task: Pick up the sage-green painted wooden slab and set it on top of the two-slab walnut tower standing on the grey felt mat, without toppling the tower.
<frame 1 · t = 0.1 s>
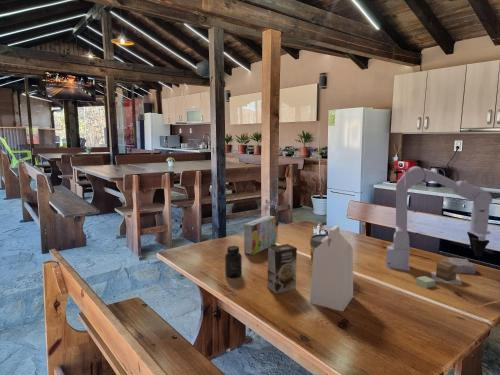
hand: (476, 253, 140), 10 cm above the table, fingers open, 7 cm apart
tower top: (446, 270, 139), point 3 cm above the table, touching tower base
snack box: (260, 249, 177), on the table
reusable coffee cup: (324, 273, 146), on the table
milk: (331, 300, 123), on the table
felt mat: (445, 279, 140), on the table
tower base: (445, 277, 139), resting on felt mat, touching tower top
coffee box: (281, 288, 132), on the table
supplement bottle: (233, 275, 144), on the table
sage slab: (425, 286, 133), on the table
stone block: (457, 270, 150), on the table
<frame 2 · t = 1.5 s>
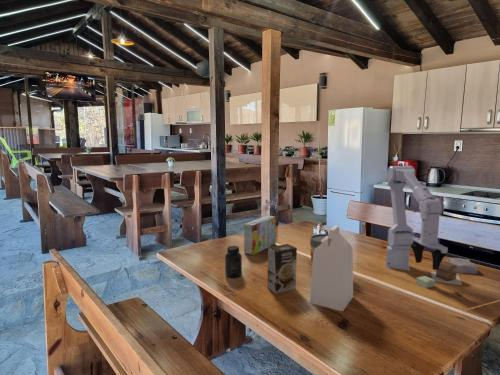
hand: (426, 265, 132), 8 cm above the table, fingers open, 7 cm apart
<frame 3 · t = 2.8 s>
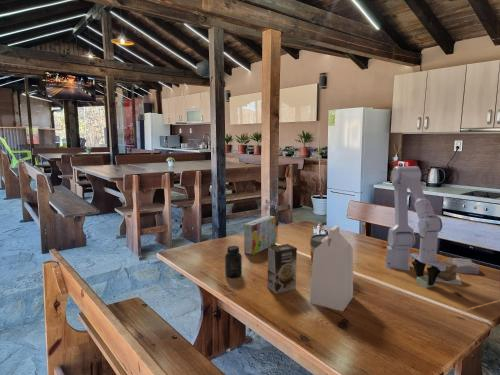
hand: (425, 282, 133), 1 cm above the table, fingers closed on sage slab, 4 cm apart
sage slab: (425, 285, 133), on the table, touching gripper
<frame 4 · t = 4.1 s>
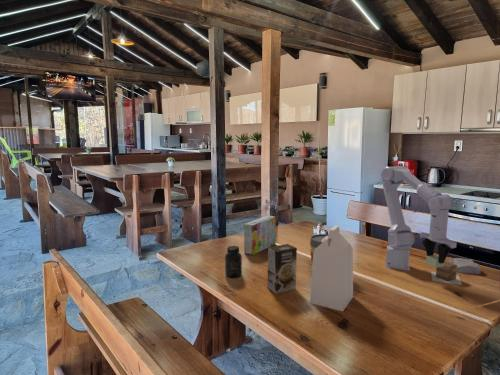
hand: (435, 260, 135), 9 cm above the table, fingers closed on sage slab, 4 cm apart
sage slab: (434, 264, 135), point 7 cm above the table, touching gripper
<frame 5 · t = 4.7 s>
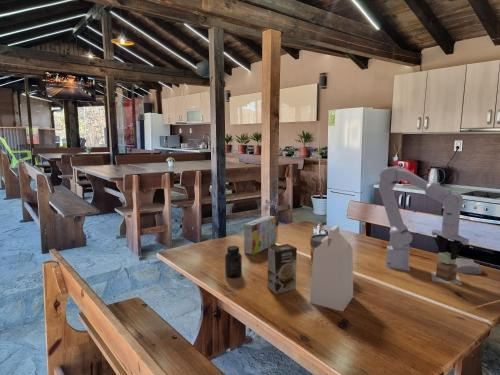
hand: (447, 257, 138), 9 cm above the table, fingers closed on sage slab, 4 cm apart
sage slab: (446, 261, 138), point 7 cm above the table, touching gripper
when the fingers open (9 cm above the table, at t = 5.4 s): sage slab stays where it is, resting on tower top.
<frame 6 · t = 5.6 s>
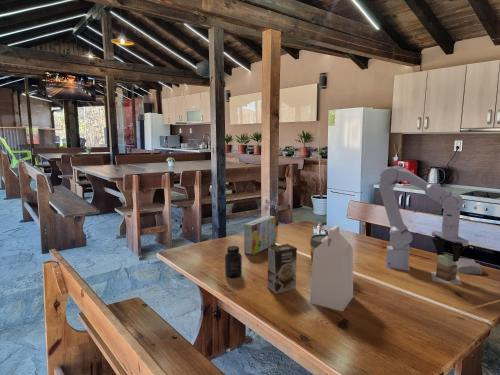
hand: (447, 258, 138), 9 cm above the table, fingers open, 6 cm apart
tower top: (446, 270, 139), point 3 cm above the table, touching sage slab, tower base
sage slab: (446, 263, 138), point 6 cm above the table, touching tower top
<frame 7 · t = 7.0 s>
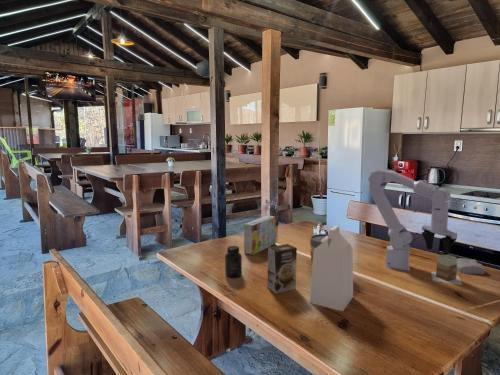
hand: (437, 251, 141), 10 cm above the table, fingers open, 7 cm apart
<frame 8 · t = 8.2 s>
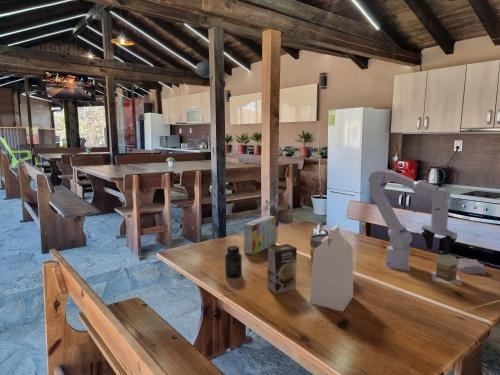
hand: (437, 251, 141), 10 cm above the table, fingers open, 7 cm apart
at the end: sage slab 0.4 cm off-centre on the tower top, point 3.0 cm above the tower top's base; tower top moved 0.1 cm from its start; sage slab tilted 0° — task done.
